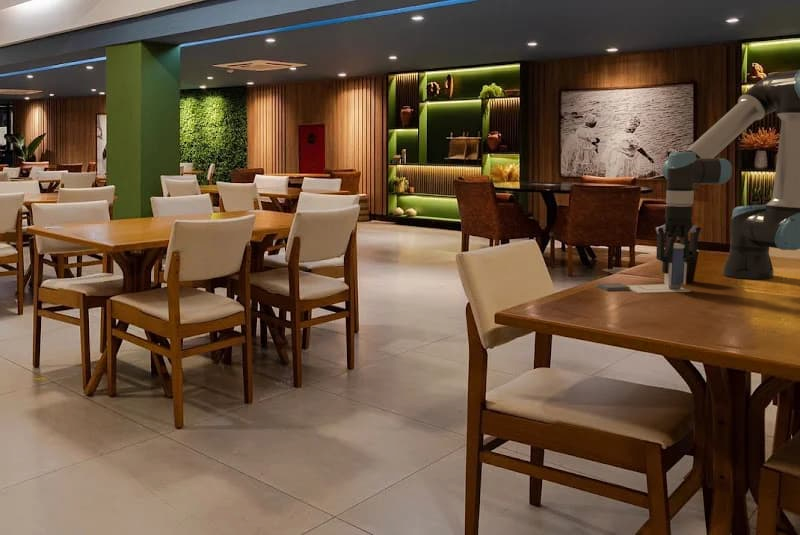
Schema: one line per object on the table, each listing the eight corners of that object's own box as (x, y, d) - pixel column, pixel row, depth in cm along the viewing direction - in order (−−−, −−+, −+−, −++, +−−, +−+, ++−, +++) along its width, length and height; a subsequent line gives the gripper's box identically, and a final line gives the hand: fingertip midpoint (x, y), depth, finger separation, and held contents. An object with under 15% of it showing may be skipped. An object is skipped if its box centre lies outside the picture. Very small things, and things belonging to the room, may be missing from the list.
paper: (671, 285, 233) (671, 283, 233) (690, 291, 222) (690, 290, 222) (622, 286, 230) (622, 285, 230) (638, 293, 220) (639, 292, 220)
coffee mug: (699, 284, 234) (701, 252, 232) (670, 283, 236) (671, 251, 234) (692, 278, 245) (694, 247, 244) (664, 277, 247) (666, 246, 245)
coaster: (619, 286, 231) (619, 282, 231) (629, 290, 225) (629, 287, 224) (597, 286, 230) (597, 283, 230) (607, 291, 223) (607, 287, 223)
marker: (677, 286, 227) (680, 243, 225) (684, 288, 223) (687, 245, 221) (664, 286, 227) (666, 243, 225) (671, 289, 223) (674, 245, 221)
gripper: (699, 203, 226) (694, 281, 230) (645, 204, 224) (642, 282, 227) (713, 205, 219) (708, 285, 222) (658, 206, 216) (654, 287, 220)
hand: (674, 283), depth 225 cm, fingers closed on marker, 4 cm apart
